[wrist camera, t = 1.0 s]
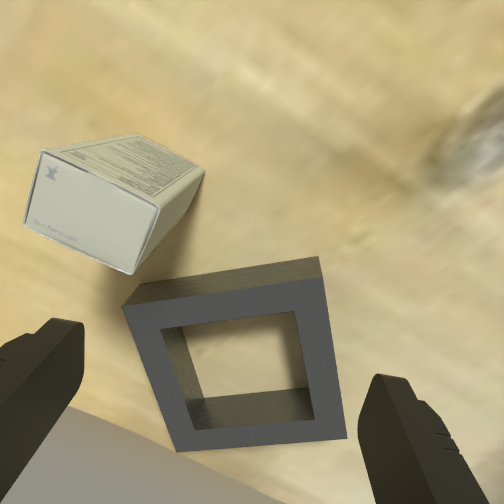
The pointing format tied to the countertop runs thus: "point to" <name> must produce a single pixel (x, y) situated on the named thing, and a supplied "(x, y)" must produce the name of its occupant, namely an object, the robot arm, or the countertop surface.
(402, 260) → the countertop surface
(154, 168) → the skincare box
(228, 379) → the countertop surface
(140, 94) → the countertop surface
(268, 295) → the dark grey square frame
